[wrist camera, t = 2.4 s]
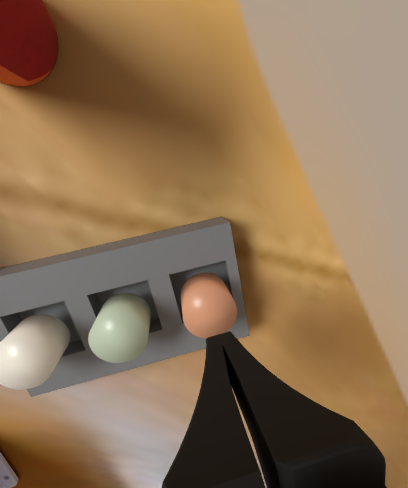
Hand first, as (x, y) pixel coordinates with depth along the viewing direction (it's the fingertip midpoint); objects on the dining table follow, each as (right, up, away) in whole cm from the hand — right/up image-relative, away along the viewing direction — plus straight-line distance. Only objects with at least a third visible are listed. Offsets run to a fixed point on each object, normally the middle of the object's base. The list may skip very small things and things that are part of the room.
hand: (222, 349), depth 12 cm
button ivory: (-13, -1, +5) cm, 13 cm away
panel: (-7, +1, +8) cm, 11 cm away
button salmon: (-1, +2, +6) cm, 6 cm away
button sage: (-7, 0, +5) cm, 9 cm away
